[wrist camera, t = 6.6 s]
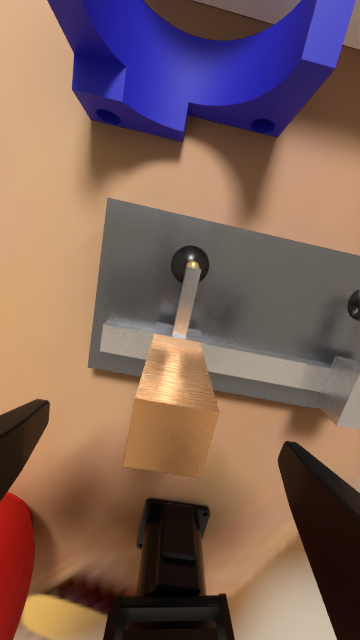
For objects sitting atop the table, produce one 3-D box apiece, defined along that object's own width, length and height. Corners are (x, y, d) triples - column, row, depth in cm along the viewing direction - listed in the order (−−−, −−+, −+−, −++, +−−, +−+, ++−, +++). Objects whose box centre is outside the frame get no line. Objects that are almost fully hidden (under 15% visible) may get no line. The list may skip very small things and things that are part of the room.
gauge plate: (342, 404, 21) (391, 448, 16) (94, 358, 19) (67, 392, 14) (403, 269, 18) (487, 274, 13) (113, 203, 16) (87, 180, 11)
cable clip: (92, 121, 15) (39, 36, 9) (99, 33, 14) (44, -126, 8) (269, 164, 16) (322, 110, 10) (290, 84, 15) (364, -28, 9)
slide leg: (187, 376, 17) (197, 487, 9) (148, 369, 17) (120, 476, 9) (214, 265, 15) (259, 276, 7) (169, 255, 15) (161, 255, 7)
